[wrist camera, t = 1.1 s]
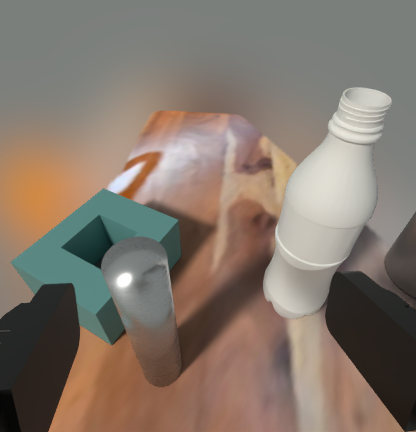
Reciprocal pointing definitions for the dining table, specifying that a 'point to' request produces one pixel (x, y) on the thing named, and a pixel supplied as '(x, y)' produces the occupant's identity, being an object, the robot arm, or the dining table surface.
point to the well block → (95, 254)
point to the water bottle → (326, 206)
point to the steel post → (145, 305)
